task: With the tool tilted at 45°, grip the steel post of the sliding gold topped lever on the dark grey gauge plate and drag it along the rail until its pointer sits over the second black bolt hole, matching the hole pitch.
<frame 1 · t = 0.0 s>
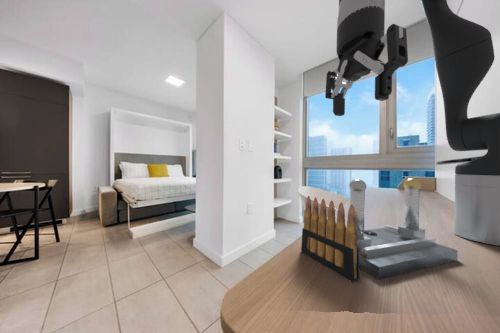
hand: (357, 108, 31), 29 cm above the table, tool pointing down, fingers open, 8 cm apart
gold topped lever: (401, 205, 41), point 9 cm above the table, slide at 0.0 cm
ammunition clip: (326, 264, 31), on the table
silver ball-topped post: (356, 246, 34), resting on gauge plate
gauge plate: (383, 251, 36), on the table
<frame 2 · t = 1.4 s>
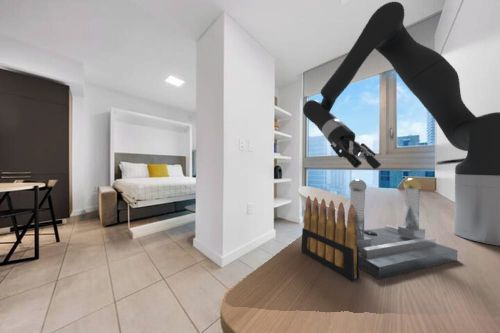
hand: (368, 166, 48), 19 cm above the table, tool tilted 45°, fingers open, 8 cm apart
nothing on the table moved.
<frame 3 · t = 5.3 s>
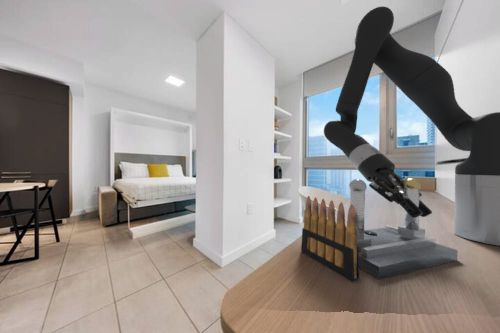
hand: (422, 215, 37), 8 cm above the table, tool tilted 45°, fingers closed on gold topped lever, 2 cm apart
gold topped lever: (401, 205, 41), point 9 cm above the table, slide at 0.0 cm, touching gripper
everything else where it was.
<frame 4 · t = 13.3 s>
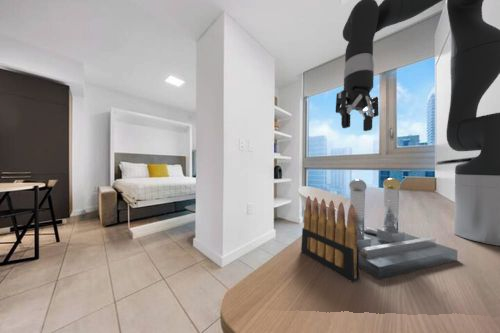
hand: (357, 129, 50), 30 cm above the table, tool pointing down, fingers open, 8 cm apart
gold topped lever: (381, 206, 39), point 9 cm above the table, slide at 7.0 cm
everything else where it was.
at the end: gold topped lever slide at 7.0 cm; the gripper is holding nothing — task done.
